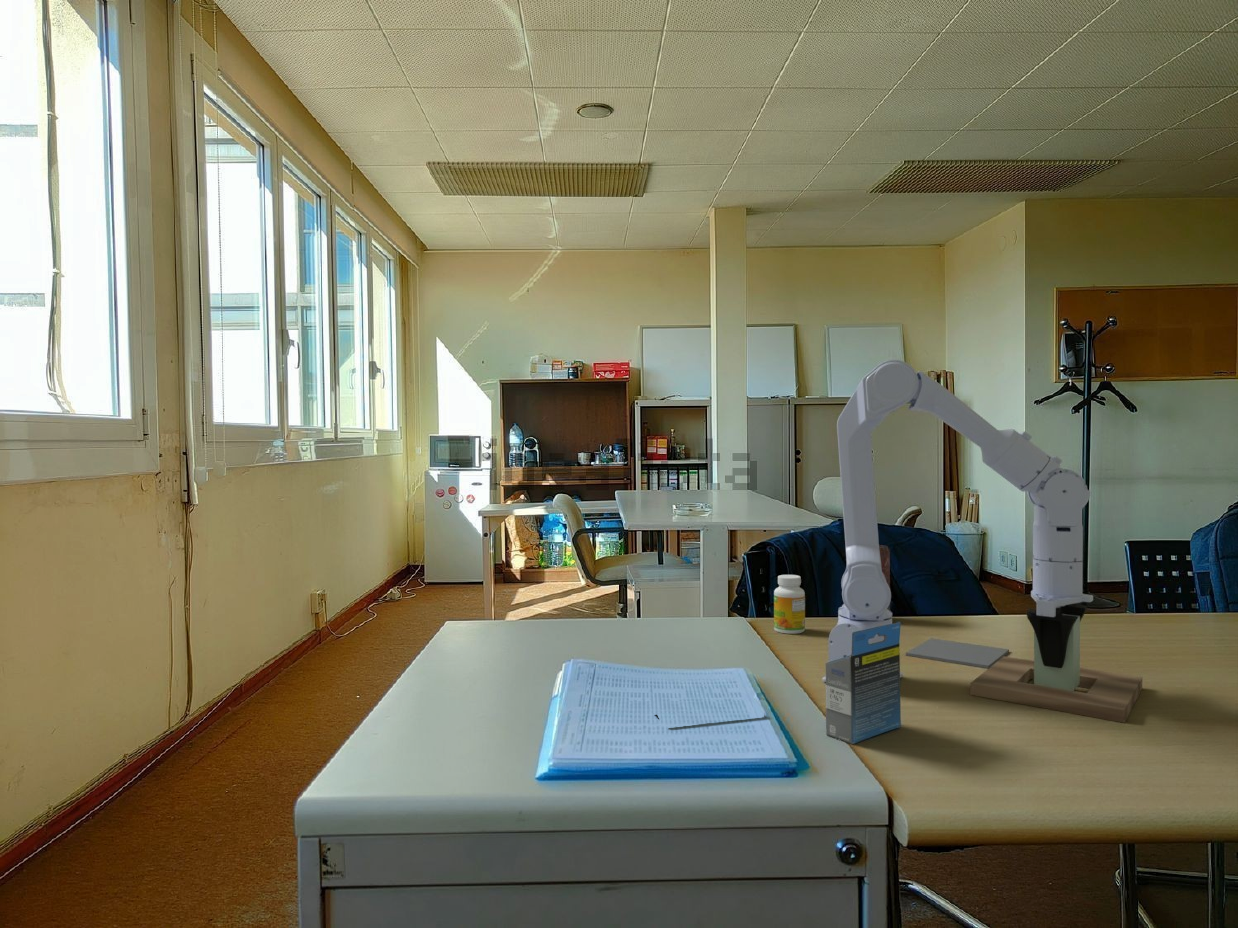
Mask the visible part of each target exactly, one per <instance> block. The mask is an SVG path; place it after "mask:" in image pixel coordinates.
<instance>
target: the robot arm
mask: <svg viewBox="0 0 1238 928" xmlns="http://www.w3.org/2000/svg"><path fill="white" fill-rule="evenodd" d="M852 393H853V394H852V395H851V397H850V398H849V400H848V401H847V403H846V404H845V406H844V408H843V409H842V412H841V413H840V415H838V419H837V422H836V432H837V443H838V444H837V447H838V459H839V460H838V461H839V474H840V486H841V487H840V488H841V500H842V502H841V503H842V514H843V517H842V518H843V529H844V531H843V532H844V541H845V542H844V543H845V545H844V546H845V557H846V558H845V561H846V567H845V571H844V573H843V575H842V576H841V577H842V578H841V582H840V584H841V585H840V586H841V590H842V591H841V596H842V601H843V604H842V605H841V606H840V607H838V611H837V613H838V614H837V615H838V616H837V619H838V620H837V624H836V625H835V626H834V627H833V628H832V630H831V631H830V633H829V635H828V662H829V661H833V660H836V659H839V658H843V657H846V656H849V655H851V653H852V633H853V632H856V631H861V630H866V629H870V628H874V627H879V626H884V625H888V624H893V612H892V611H891V610H890V611H889V610H887V608H888V606H889V604H890V605H891V601H892V600H891V599H892V592H891V587H890V588H889V585H888V584H887V582H886V578H885V576H884V574H883V573H882V568H881V558H880V551H879V545H880V544H879V543H880V542H879V529H878V515H877V513H878V512H877V503H876V502H877V501H876V488H875V487H876V485H875V474H874V461H873V460H874V459H873V458H874V457H873V447H872V446H873V445H872V432H873V431H874V430H875V429H876V428H877V427H878V426H879V425H880V424H881V423H882V422H883V421H884V420H885V419H886V418H887V415H889V414H891V413H893V412H895V411H897V410H898V409H900V408H902V407H903V406H905V405H906V404H908V403H910V405H909V407H908V411H913V412H919V413H926V414H932V415H933V416H934V417H936V418H938V419H939V420H940V421H942V422H943V423H944V424H946V425H947V426H949V427H950V428H952V429H953V430H955V431H956V432H957V433H959V434H960V435H962V436H963V437H965V439H968V440H969V441H970V442H972V443H973V444H975V446H977V447H979V448H980V451H981V457H982V462H983V464H985V465H986V466H987V467H988V468H990V469H991V470H993V471H994V472H996V474H998V475H1000V477H1002V478H1003V479H1005V480H1006V481H1007V482H1008V483H1010V484H1011V485H1013V486H1014V487H1015V488H1017V489H1018V490H1020V491H1021V492H1024V493H1025V492H1026V494H1027V497H1028V499H1029V501H1030V503H1032V505H1034V506H1033V524H1032V590H1031V591H1030V597H1031V598H1032V600H1034V602H1035V603H1036V605H1035V606H1036V609H1033V608H1029V609H1028V610H1026V617H1027V620H1028V621H1029V623H1030V625H1031V627H1032V628H1033V631H1035V634H1036V637H1037V640H1038V644H1039V649H1040V654H1041V658H1042V662H1043V665H1044V666H1049V667H1055V668H1062V666H1063V664H1064V660H1065V656H1066V649H1067V643H1068V639H1069V635H1070V632H1071V630H1072V627H1073V625H1074V623H1075V622H1076V620H1077V618H1078V617H1077V616H1080V622H1081V621H1082V619H1083V618H1084V616H1085V614H1086V612H1087V610H1088V606H1086V605H1085V604H1084V605H1083V604H1079V603H1092V602H1093V601H1094V595H1092V594H1087V593H1086V594H1085V593H1083V585H1084V584H1083V581H1084V580H1083V571H1084V570H1083V567H1084V566H1083V565H1084V563H1083V561H1084V559H1083V558H1084V555H1083V554H1084V553H1083V551H1084V549H1083V546H1084V542H1083V541H1084V537H1083V536H1084V532H1083V531H1084V526H1083V508H1084V507H1085V506H1086V505H1087V503H1088V502H1089V500H1090V496H1091V491H1090V490H1089V489H1088V485H1087V484H1086V480H1085V479H1084V478H1083V477H1082V475H1080V474H1079V473H1078V472H1076V471H1073V470H1072V469H1066V468H1061V467H1060V466H1061V463H1063V460H1062V459H1061V458H1059V457H1058V456H1055V455H1054V456H1051V455H1049V454H1048V453H1047V452H1045V451H1044V450H1042V449H1041V448H1040V447H1038V446H1037V445H1036V444H1034V443H1033V442H1031V441H1030V440H1031V439H1032V438H1033V437H1032V435H1030V434H1029V433H1027V432H1026V431H1021V432H1018V431H1017V430H1016V429H1013V428H1010V429H1009V428H1008V429H1001V430H1000V429H997V428H996V427H995V426H994V425H992V424H991V423H990V422H989V421H987V420H986V419H985V418H983V416H981V415H979V414H978V413H977V412H976V411H974V410H973V409H972V408H971V407H970V406H968V405H967V404H966V403H964V402H963V401H962V400H961V399H960V398H958V397H957V396H956V395H955V394H954V393H953V392H951V391H950V390H948V389H947V388H946V387H945V386H944V385H942V384H941V383H939V382H937V380H935V379H933V378H932V377H930V376H929V375H927V374H926V373H924V372H923V371H922V372H921V371H919V370H918V371H916V370H915V369H914V368H913V367H912V366H911V365H910V364H909V363H907V362H906V361H904V360H900V359H888V360H885V361H882V362H880V363H879V364H878V365H876V366H875V367H874V368H873V369H872V370H871V371H869V372H868V373H867V374H866V375H864V376H863V377H862V379H861V380H860V382H859V383H858V385H857V387H856V389H854V391H853V392H852ZM1063 614H1066V615H1063ZM1068 615H1075V616H1068ZM883 640H884V636H878V635H877V634H876V635H875V637H874V638H871V639H869V640H868V643H869V644H872V643H876V642H880V641H883ZM903 676H904V673H903V672H901V671H900V679H901V678H902V677H903ZM821 678H822V679H821V680H822V682H825V683H826V675H824V676H823V677H821Z"/></svg>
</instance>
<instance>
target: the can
mask: <svg viewBox="0 0 1238 928" xmlns="http://www.w3.org/2000/svg"><path fill="white" fill-rule="evenodd" d="M879 551H880V558H881V568H882V573H883V574H884V576H885V578H886V582H887V584H888V585H889V588H890V589H891V571H890V570H891V558H890V557H891V550H890V549H889V546H887V545H881V544H879ZM887 610H889V611H891V603H890V604H889V606H888V608H887Z"/></svg>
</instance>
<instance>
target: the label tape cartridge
mask: <svg viewBox="0 0 1238 928" xmlns="http://www.w3.org/2000/svg"><path fill="white" fill-rule="evenodd" d="M901 625H902V623H901V621H897V622H894V623H893V622H892V624H888V625H884V626H879V627H874V628H870V629H866V630H861V631H856V632H853V633H852V653H851V655H849V656H846V657H843V658H839V659H836V660H833V661H829V660H828V661H826V662H825V676H826V682H825V735H826V736H828V737H830V738H832V739H835V738H837V739H836V740H838V739H840V740H841V742H844V743H847V744H849V745H855V744H857V743H860V742H862V741H865V740H867V739H870V738H872V737H875V736H878V735H881V734H884V733H887V732H891V731H892V730H895V729H898V728H902V725H901V724H902V720H901V719H902V718H901V717H902V715H901V709H902V708H901V678H900V672H901V668H900V667H901V666H900V665H901V657H900V656H901V655H900V654H901V653H900V652H901V651H900V650H901V648H900V637H901V627H902V626H901ZM876 634H877V635H878V636H884V640H883V641H880V642H876V643H872V644H869V643H868V640H869V639H871V638H874V637H875V635H876ZM840 740H839V741H840Z"/></svg>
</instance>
